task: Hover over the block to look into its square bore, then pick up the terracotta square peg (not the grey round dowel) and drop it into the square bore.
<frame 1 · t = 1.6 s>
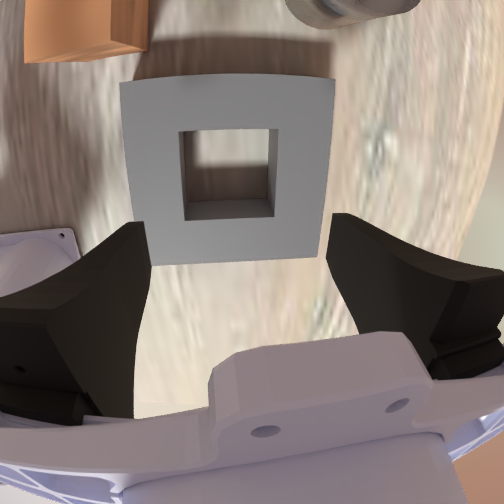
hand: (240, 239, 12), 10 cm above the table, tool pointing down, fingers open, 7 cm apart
bore block: (226, 161, 21), on the table
square peg: (116, 26, 15), on the table
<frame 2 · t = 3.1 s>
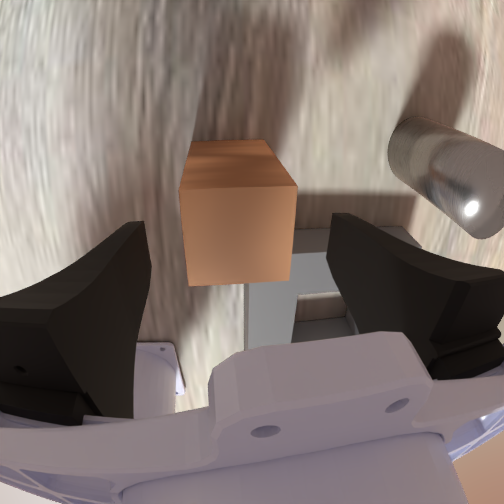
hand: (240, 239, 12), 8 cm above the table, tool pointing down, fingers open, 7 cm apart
round dowel: (417, 150, 19), on the table
bore block: (319, 295, 25), on the table
square peg: (227, 173, 19), on the table
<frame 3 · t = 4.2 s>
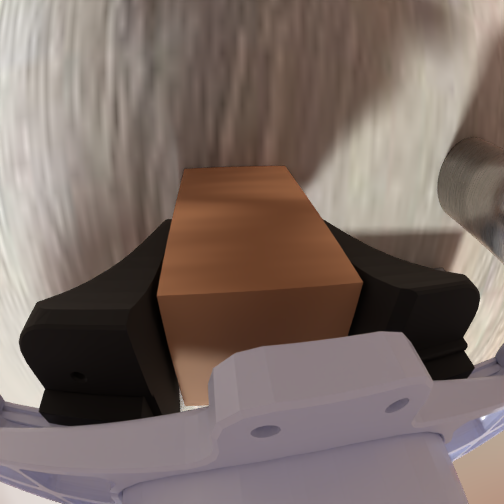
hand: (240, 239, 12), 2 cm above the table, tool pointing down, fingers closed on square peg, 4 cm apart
round dowel: (469, 179, 14), on the table
square peg: (235, 212, 14), on the table, touching gripper
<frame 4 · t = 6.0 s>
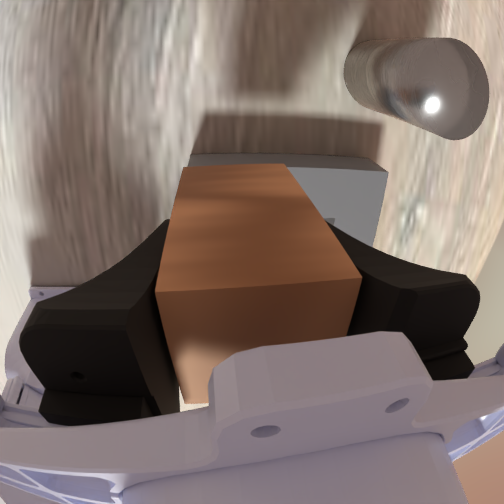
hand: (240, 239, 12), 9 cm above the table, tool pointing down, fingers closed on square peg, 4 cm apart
round dowel: (377, 75, 17), on the table
bore block: (278, 234, 23), on the table
square peg: (234, 210, 14), point 7 cm above the table, touching gripper
when the fingers open (4 cm above the table, at t = 8.2 s): square peg drops 1 cm, resting in bore block.
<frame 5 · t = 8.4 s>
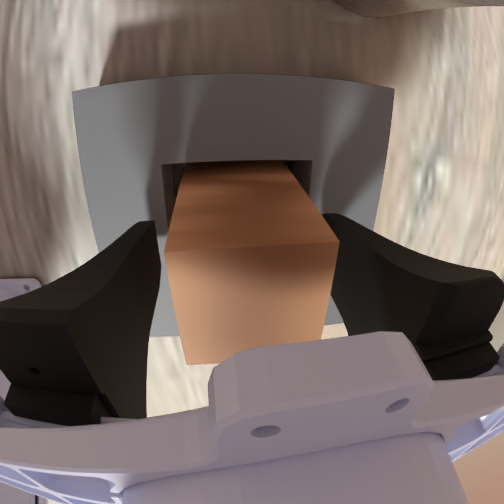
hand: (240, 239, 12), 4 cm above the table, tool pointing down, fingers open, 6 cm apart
bore block: (233, 199, 15), on the table
square peg: (233, 197, 15), resting in bore block
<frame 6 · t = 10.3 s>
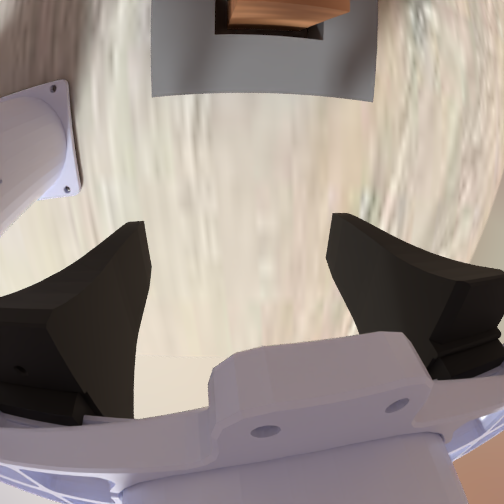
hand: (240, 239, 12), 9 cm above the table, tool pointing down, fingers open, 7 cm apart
bore block: (262, 0, 14), on the table
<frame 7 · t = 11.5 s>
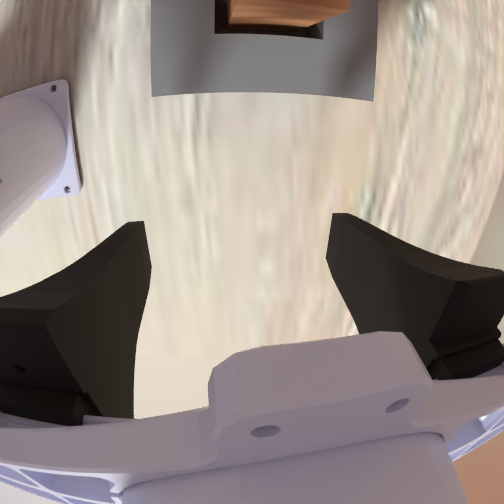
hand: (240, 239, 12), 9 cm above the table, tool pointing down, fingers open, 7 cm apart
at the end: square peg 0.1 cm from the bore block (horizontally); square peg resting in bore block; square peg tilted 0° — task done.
